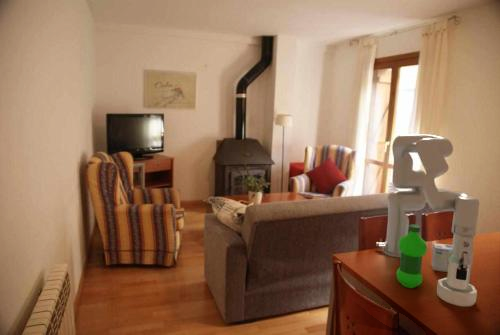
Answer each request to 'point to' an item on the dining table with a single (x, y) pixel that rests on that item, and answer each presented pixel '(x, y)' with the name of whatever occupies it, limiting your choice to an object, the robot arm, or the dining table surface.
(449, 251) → the light bulb box
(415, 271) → the plastic bottle
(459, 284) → the can
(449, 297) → the white octagonal bowl
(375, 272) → the dining table surface
